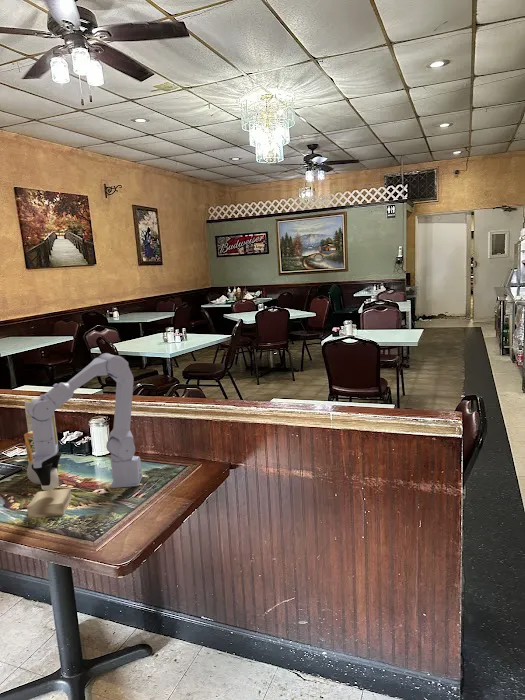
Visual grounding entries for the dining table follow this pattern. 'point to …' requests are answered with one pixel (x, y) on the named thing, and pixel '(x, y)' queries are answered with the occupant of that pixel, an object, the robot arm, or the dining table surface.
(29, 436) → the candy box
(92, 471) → the dining table surface
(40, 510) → the block
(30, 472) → the donut
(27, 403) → the juice carton
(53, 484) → the beige round cylinder
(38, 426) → the robot arm
